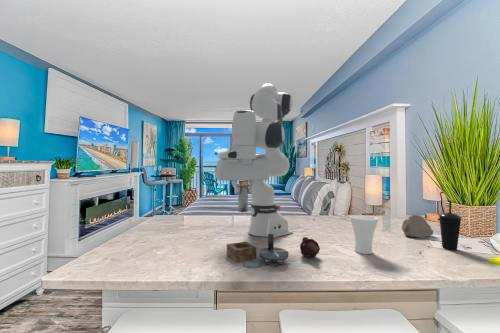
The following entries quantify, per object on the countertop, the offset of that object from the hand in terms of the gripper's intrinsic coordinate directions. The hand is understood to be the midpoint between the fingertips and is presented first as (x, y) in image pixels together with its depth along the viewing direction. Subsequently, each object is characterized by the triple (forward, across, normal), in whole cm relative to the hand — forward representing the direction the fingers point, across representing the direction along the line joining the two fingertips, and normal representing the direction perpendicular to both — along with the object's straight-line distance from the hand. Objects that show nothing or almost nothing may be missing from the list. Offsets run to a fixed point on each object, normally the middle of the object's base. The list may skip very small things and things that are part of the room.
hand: (243, 193), depth 94 cm
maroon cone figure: (+24, -23, +10) cm, 34 cm away
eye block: (+23, 0, -1) cm, 23 cm away
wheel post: (+23, -8, +8) cm, 26 cm away
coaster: (+23, 0, +7) cm, 25 cm away
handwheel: (+21, -8, +8) cm, 24 cm away
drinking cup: (+23, -82, +27) cm, 90 cm away
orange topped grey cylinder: (+7, 0, 0) cm, 7 cm away
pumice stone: (+23, -91, +9) cm, 95 cm away
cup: (+23, -46, +14) cm, 54 cm away
